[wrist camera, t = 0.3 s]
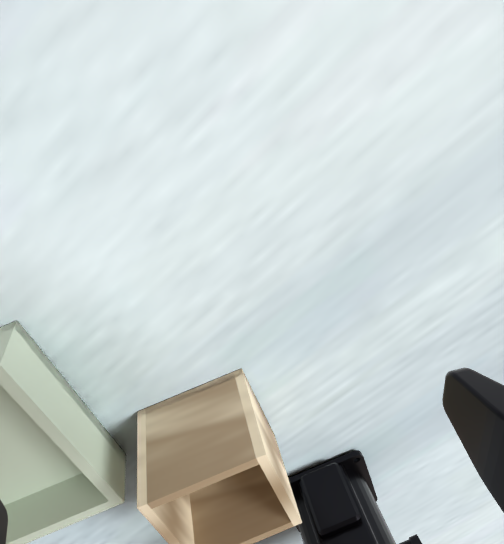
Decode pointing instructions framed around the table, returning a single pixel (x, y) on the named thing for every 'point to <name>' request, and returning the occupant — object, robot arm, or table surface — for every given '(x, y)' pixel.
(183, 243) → the table surface
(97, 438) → the pale green square tray
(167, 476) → the small crate
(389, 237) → the table surface
